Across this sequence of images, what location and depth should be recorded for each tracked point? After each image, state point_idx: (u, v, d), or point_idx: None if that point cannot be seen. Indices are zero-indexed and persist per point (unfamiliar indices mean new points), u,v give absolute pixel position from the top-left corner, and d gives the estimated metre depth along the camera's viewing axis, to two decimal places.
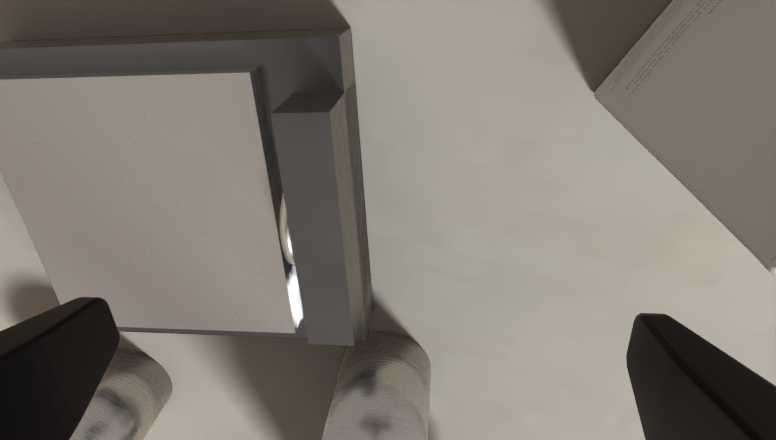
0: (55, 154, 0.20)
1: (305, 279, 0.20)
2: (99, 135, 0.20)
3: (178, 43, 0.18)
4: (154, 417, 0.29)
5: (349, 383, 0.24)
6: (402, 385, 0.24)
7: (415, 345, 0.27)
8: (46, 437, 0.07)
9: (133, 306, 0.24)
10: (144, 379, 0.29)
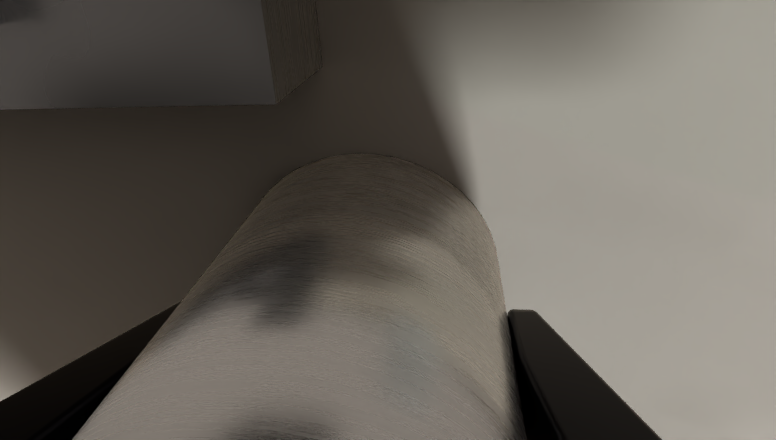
0: None
1: None
2: None
3: None
4: None
5: (205, 283, 0.06)
6: (422, 287, 0.06)
7: (457, 195, 0.08)
8: None
9: None
10: None
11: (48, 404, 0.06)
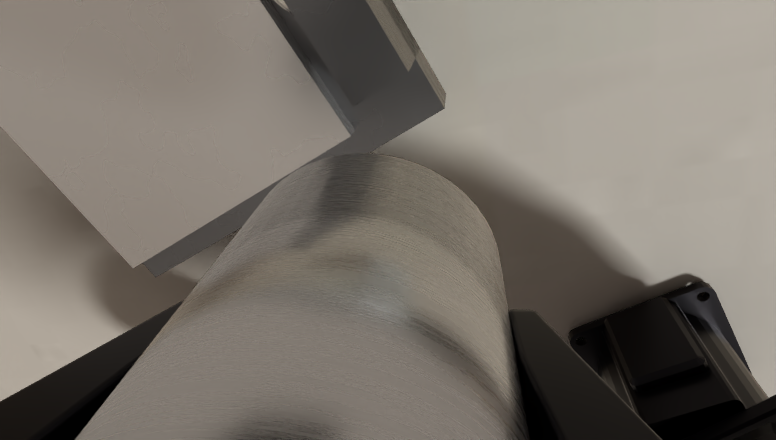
0: (8, 47, 0.18)
1: (296, 0, 0.14)
2: None
3: None
4: None
5: (206, 283, 0.06)
6: (425, 287, 0.06)
7: (459, 194, 0.08)
8: None
9: (174, 205, 0.20)
10: None
11: (48, 404, 0.06)
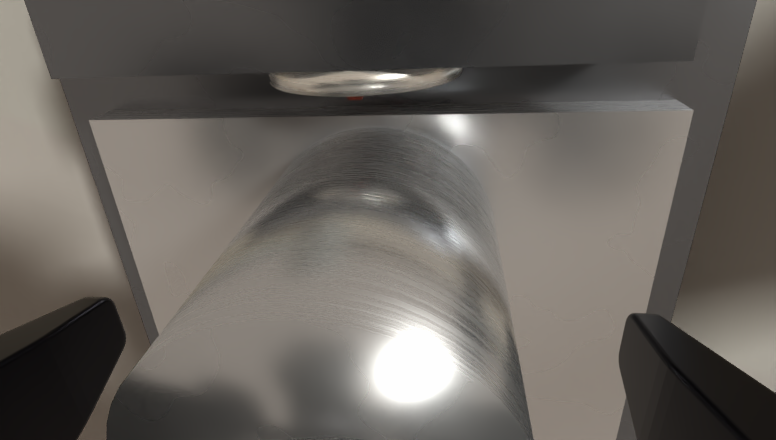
0: None
1: (457, 44, 0.07)
2: None
3: (110, 222, 0.13)
4: None
5: (252, 225, 0.07)
6: (432, 225, 0.07)
7: (459, 162, 0.10)
8: (54, 437, 0.07)
9: (569, 410, 0.13)
10: None
11: None
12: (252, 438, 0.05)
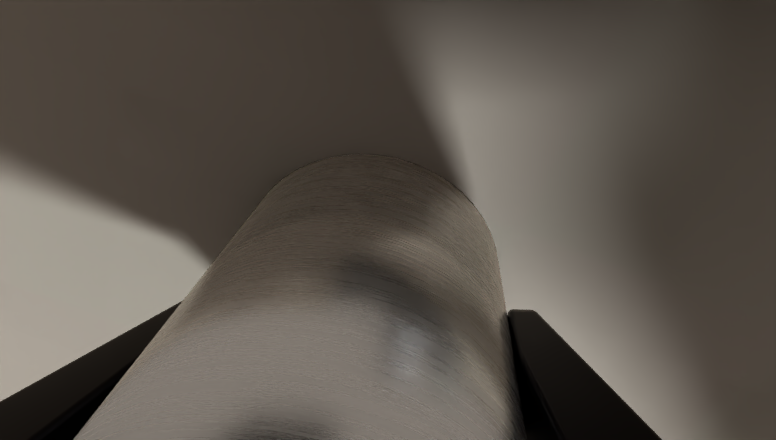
0: None
1: None
2: None
3: None
4: None
5: None
6: None
7: None
8: None
9: None
10: (477, 245, 0.08)
11: (48, 404, 0.06)
12: None
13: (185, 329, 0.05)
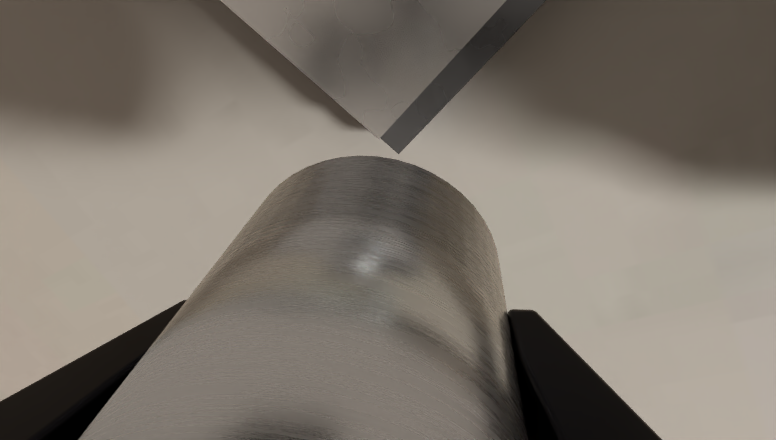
0: None
1: None
2: None
3: None
4: None
5: None
6: None
7: None
8: None
9: (426, 26, 0.15)
10: (478, 247, 0.08)
11: (48, 404, 0.06)
12: None
13: (186, 331, 0.05)
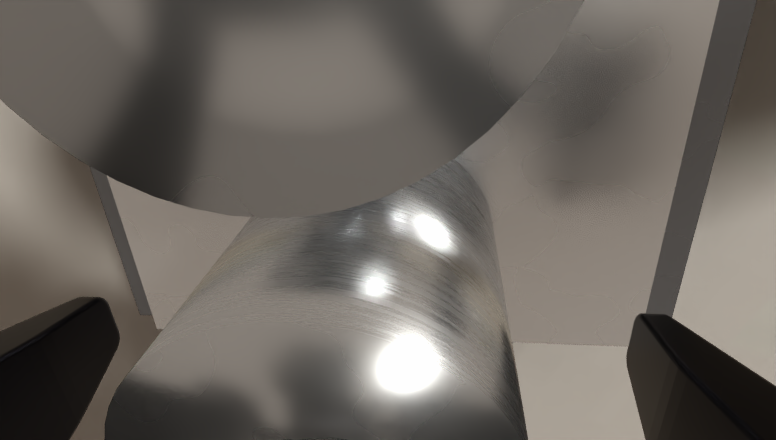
0: None
1: None
2: None
3: None
4: None
5: None
6: None
7: None
8: (46, 437, 0.08)
9: (605, 198, 0.10)
10: (474, 206, 0.09)
11: None
12: None
13: (241, 255, 0.06)
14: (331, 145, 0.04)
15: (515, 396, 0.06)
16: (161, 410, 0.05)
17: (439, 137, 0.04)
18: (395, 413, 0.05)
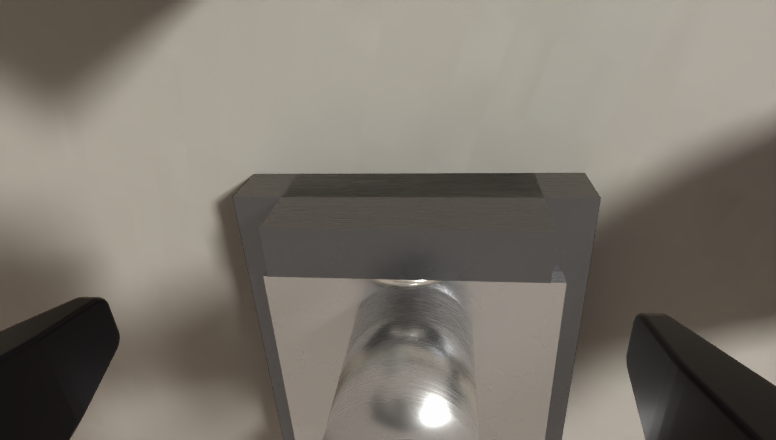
0: None
1: (452, 272, 0.17)
2: (333, 396, 0.23)
3: (259, 318, 0.22)
4: None
5: (365, 349, 0.17)
6: (441, 353, 0.17)
7: (454, 303, 0.20)
8: (46, 437, 0.07)
9: (517, 424, 0.23)
10: None
11: None
12: (378, 439, 0.15)
13: None
14: None
15: None
16: None
17: None
18: None
